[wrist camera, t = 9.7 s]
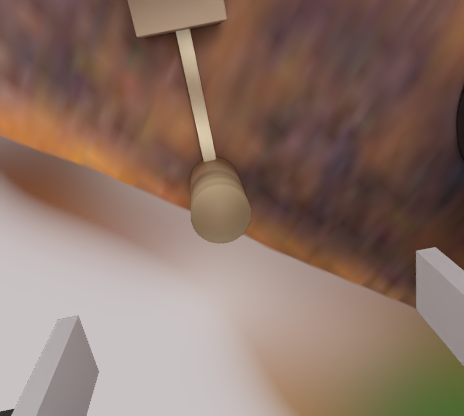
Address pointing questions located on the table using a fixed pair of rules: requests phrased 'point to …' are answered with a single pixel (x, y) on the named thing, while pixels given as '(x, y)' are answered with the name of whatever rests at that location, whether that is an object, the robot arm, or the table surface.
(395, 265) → the table surface
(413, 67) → the table surface
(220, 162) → the block
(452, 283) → the robot arm
